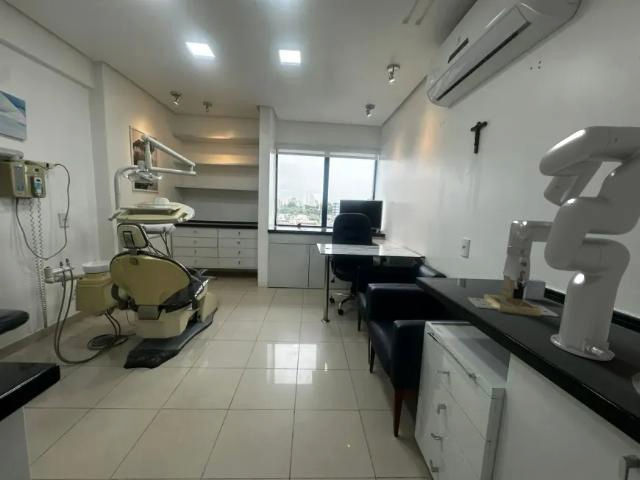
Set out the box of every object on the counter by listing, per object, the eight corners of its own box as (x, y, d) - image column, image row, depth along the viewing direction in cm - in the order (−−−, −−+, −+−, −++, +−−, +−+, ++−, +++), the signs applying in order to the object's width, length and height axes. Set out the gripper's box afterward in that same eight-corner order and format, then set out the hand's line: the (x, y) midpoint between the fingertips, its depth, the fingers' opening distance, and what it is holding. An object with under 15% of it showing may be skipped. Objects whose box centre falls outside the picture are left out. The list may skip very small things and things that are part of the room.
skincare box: (498, 303, 109) (503, 274, 108) (506, 302, 110) (510, 274, 109) (514, 309, 103) (519, 278, 102) (522, 308, 104) (527, 278, 103)
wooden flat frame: (561, 318, 98) (562, 312, 97) (479, 309, 103) (479, 302, 102) (538, 305, 111) (539, 299, 111) (466, 297, 116) (467, 292, 116)
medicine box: (536, 297, 123) (539, 279, 122) (543, 300, 119) (546, 282, 118) (518, 295, 124) (521, 277, 123) (524, 299, 120) (527, 280, 119)
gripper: (543, 256, 95) (535, 304, 97) (517, 249, 112) (510, 290, 114) (520, 254, 96) (512, 301, 98) (497, 248, 113) (491, 288, 115)
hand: (511, 295), depth 106 cm, fingers closed on skincare box, 7 cm apart
